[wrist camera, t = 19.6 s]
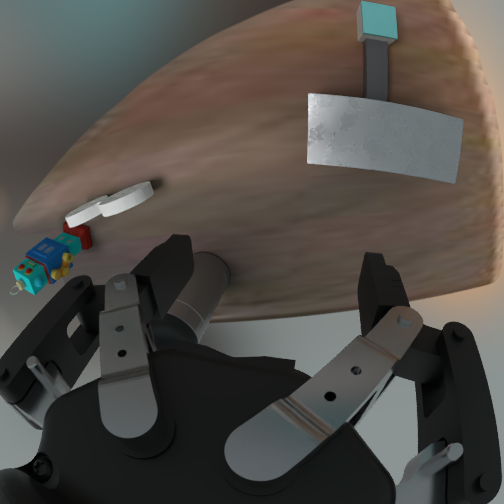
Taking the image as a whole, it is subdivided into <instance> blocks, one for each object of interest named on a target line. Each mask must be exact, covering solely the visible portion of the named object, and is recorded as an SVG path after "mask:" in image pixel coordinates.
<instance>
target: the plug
mask: <svg viewBox="0 0 504 504" xmlns="http://www.w3.org/2000/svg"><path fill="white" fill-rule="evenodd" d="M356 17H357V33H358V42H363V66H364V85H363V98H365V99H372V100H379V101H385V102H387V97H388V52H387V46H389V45H390V44H391V43H393V42H394V41H395V40H397V39H398V36H397V22H396V11H395V7H392V6H387V5H382V4H377V3H371V2H365V1H361V3H360V5H359V8H358V10H357V13H356Z"/></svg>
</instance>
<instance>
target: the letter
mask: <svg viewBox="0 0 504 504" xmlns="http://www.w3.org/2000/svg"><path fill="white" fill-rule="evenodd" d="M153 195H154V192H153V189H152V186H151V183H150V181H147V182H143V183H139V184H136V185H134V186H131V187H129V188H126V189H124V190H122V191H119V192H117V193H115V194H113V195H111V196H110V197H108V196H107V195H105V196H102V197H99V198H97V199H94V200H92V201H90V202H88V203H86V204H84V205H82V206H80V207H79V208H77V209H75V210H74V211H72V212H71V213H70V214H68V215H67V216H66V217H65V219H66V221H67V223H68V225H69V227H70V228H71V227H75V226H78V225H80V224H82V223H84V222H86V221H88V220H90V219H92V218H94V217H96V216H98V215H99V214H101V213H102V214H103V216H104V217H107V216H111V215H115V214H117V213H120V212H123V211H125V210H127V209H130V208H132V207H134V206H136V205H138V204H140V203H142V202H144V201H145V200H147V199H148V198H150V197H151V196H153Z"/></svg>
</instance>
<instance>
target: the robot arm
mask: <svg viewBox="0 0 504 504" xmlns="http://www.w3.org/2000/svg"><path fill="white" fill-rule="evenodd" d="M229 279H230V273H229V270H228V267H227V266H226V264H225V263H224V262H223V261H222V260H221V259H220V258H218V257H217V256H215V255H213V254H210V253H204V252H202V253H197V254H194V255H193V252H192V245H191V239H190V237H189V236H188V235H179V234H173V235H172V236H171V237H170V238H169V239H168V240H167V241H166V242H165V243H162V244H161V245H159V246H157V247H155V248H154V249H153V250H152V251H151V252H150V253H149V255H147V256H146V257H145V258H144V260H142V261H141V262H140V263H139V264H138V265H137V266H136V267H135V268H134V269H133V270H132V271H131V272H130V273H121V274H117V275H115V276H113V277H111V278H110V279H109V280H108V281H107V282H106V284H105V285H94V286H93V283H92V280H91V278H90V277H89V276H86V275H82V276H77V277H75V278H73V279H71V280H70V281H68V282H67V283H66V284H65V285H64V287H62V289H61V290H60V291H59V292H58V293H57V294H56V295H55V296H54V297H53V298H52V299H51V300H50V301H49V302H48V303H47V304H46V305H45V307H44V308H43V309H42V310H41V311H40V312H39V313H38V314H37V315H36V316H35V318H34V319H33V320H32V321H31V322H30V323H29V324H28V326H27V327H26V328H25V329H24V330H23V331H22V333H21V334H20V335H19V336H18V337H17V339H16V340H15V341H14V342H13V343H12V345H11V346H10V348H9V349H8V350H7V351H6V352H5V353H4V355H3V356H2V357H1V359H0V395H1V396H2V397H3V399H4V400H5V402H6V403H7V404H8V405H9V406H10V407H11V408H12V409H13V410H14V411H15V412H16V413H17V414H19V416H21V417H22V418H23V419H25V420H26V421H27V422H28V423H29V424H30V425H32V426H33V427H34V428H35V429H40V430H42V429H43V432H42V438H41V442H40V446H39V449H38V452H37V454H36V456H35V457H34V459H33V460H32V461H31V462H29V463H28V464H26V465H24V466H21V467H18V468H13V469H12V468H9V469H4V470H0V504H487V503H489V502H490V501H491V500H493V499H494V497H495V496H496V495H497V493H498V491H499V489H500V486H501V482H502V472H501V457H500V447H499V439H498V432H497V425H496V419H495V414H494V409H493V404H492V399H491V395H490V390H489V386H488V382H487V379H486V375H485V371H484V368H483V365H482V361H481V358H480V354H479V351H478V348H477V345H476V342H475V339H474V336H473V334H472V332H471V331H470V329H469V328H467V327H466V326H465V325H463V324H461V323H459V322H449V323H447V324H445V325H444V327H443V329H442V330H438V329H435V328H432V327H429V326H426V325H424V324H423V319H422V317H421V316H420V314H419V313H418V312H417V311H415V310H414V309H412V308H410V304H409V301H408V298H407V295H406V292H405V289H404V286H403V283H402V282H401V281H402V280H401V277H400V275H399V272H398V271H397V270H396V269H395V268H394V267H393V266H389V265H386V263H385V260H384V257H383V254H381V253H371V252H366V253H365V255H364V260H363V264H362V269H361V274H360V278H359V283H358V303H359V312H360V322H361V333H362V336H361V335H359V336H357V337H356V338H355V339H354V340H353V341H352V342H351V343H350V344H348V346H346V347H345V348H344V349H343V350H342V351H341V352H340V353H339V354H338V355H337V356H336V357H335V358H333V359H332V360H331V361H330V362H329V363H328V364H327V365H326V366H324V367H323V368H322V369H321V370H320V371H319V372H318V373H317V374H315V375H314V376H313V377H310V376H309V375H307V374H305V373H303V372H301V371H299V370H296V369H294V367H295V360H289V359H282V358H273V357H267V356H262V357H261V356H260V357H231V356H228V355H226V354H224V353H221V352H219V351H216V350H214V349H212V348H210V347H207V346H204V345H200V344H199V341H200V340H201V337H202V335H203V333H204V331H205V329H206V327H207V325H208V323H209V321H210V319H211V317H212V315H213V313H214V311H215V309H216V307H217V305H218V303H219V301H220V299H221V297H222V295H223V293H224V291H225V289H226V287H227V285H228V282H229ZM76 315H77V317H78V319H79V321H80V323H81V324H80V326H79V327H78V328H77V329H76V331H75V332H74V333H73V335H72V336H71V337H70V338H69V337H68V335H67V326H68V324H69V323H70V322H71V321H72V319H73V318H74V317H75V316H76ZM99 346H100V364H101V365H100V366H101V377H100V378H98V379H96V380H94V381H92V382H89V383H87V384H85V385H83V386H81V387H79V388H76V389H74V390H72V391H71V388H72V387H73V386H74V384H75V382H76V381H77V379H78V377H79V376H80V375H81V373H82V371H83V370H84V368H85V367H86V365H87V364H88V362H89V361H90V359H91V358H92V356H93V355H94V353H95V352H96V350H97V349H98V347H99ZM396 376H399V377H402V378H405V379H408V380H412V381H415V388H416V400H417V418H418V455H417V456H415V457H414V458H412V459H411V460H410V461H409V462H408V464H407V465H406V467H405V470H404V474H403V478H402V480H401V482H400V483H399V484H398V485H397V486H395V484H394V481H393V479H392V477H391V475H390V473H389V472H388V471H387V470H386V468H385V467H384V466H383V464H382V463H381V462H380V461H379V459H378V458H377V457H376V456H375V454H374V453H373V452H372V451H371V449H370V448H369V447H368V446H367V444H366V443H365V441H364V440H363V439H362V438H361V436H360V435H359V434H358V432H357V431H356V430H355V427H356V426H357V425H358V424H359V423H360V421H361V420H362V419H363V418H364V417H365V415H366V414H367V413H368V411H369V410H370V409H371V408H372V406H373V405H374V404H375V403H376V401H377V400H378V399H379V398H380V397H381V395H382V394H383V393H384V392H385V390H386V389H387V388H388V386H389V385H390V384H391V382H392V381H393V380H394V378H395V377H396Z"/></svg>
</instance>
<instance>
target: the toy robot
mask: <svg viewBox="0 0 504 504" xmlns="http://www.w3.org/2000/svg"><path fill="white" fill-rule="evenodd" d="M63 229H64V232H63V233H62V234H60V235H59V236H58V237H56V238H55V239H54V240H52V239H49V238H45V239H44V240H42V241H41V242H40V243H38V244H37V245H36V246H34V247H33V248H32V249H31V250H29V251H28V252H27V253H26V259H25V260H24V261H22V263H20V264H19V265H18V266H16V267H15V268H14V269H13V271H14V274H15V277H16V279H17V282H16V284H17V287H18V288H19V290H23V289H26V290H27V291H29V292H30V293H32V294H34V295H36V294H37V292H39V291H40V290H41V289H42V288H43V287H44V286H45V285H46V284H47V283H49V284H54V283H55V282H56V281H57V280H59V279H60V277H63V276H67V275H68V274H69V272H70V268H71V267H72V266H73V264H72V260H73V257H74V256H75V255H76V254H77V253H79V252H80V251H81V250H82V249H89V248H90V247H92V243H91V237H90V231H89V227H87V226H84V225H81V224H80V225H78V226H75V227H71V228H70V227H69V225H68V223H67V221H66V222H65V223H63ZM15 287H16V286H15ZM18 292H19V291H18ZM18 292H17V293H18ZM10 293H11V292H10ZM15 294H16V293H15Z"/></svg>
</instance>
